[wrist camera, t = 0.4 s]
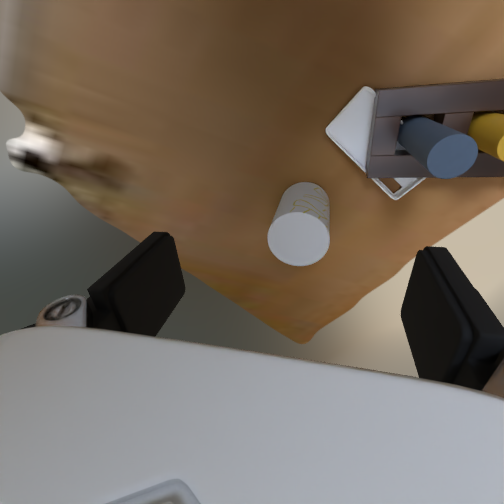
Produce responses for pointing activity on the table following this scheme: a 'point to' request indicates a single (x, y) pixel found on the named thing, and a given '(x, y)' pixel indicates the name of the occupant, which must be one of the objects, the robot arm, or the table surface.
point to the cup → (301, 225)
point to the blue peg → (437, 146)
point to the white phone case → (362, 136)
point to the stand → (446, 113)
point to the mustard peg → (488, 132)
